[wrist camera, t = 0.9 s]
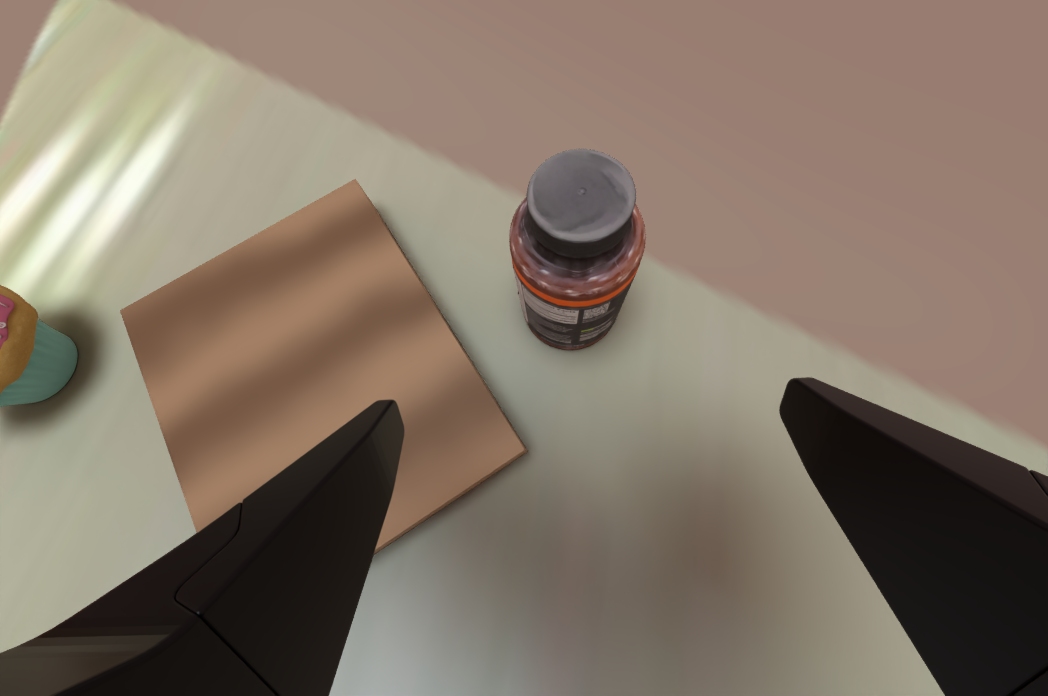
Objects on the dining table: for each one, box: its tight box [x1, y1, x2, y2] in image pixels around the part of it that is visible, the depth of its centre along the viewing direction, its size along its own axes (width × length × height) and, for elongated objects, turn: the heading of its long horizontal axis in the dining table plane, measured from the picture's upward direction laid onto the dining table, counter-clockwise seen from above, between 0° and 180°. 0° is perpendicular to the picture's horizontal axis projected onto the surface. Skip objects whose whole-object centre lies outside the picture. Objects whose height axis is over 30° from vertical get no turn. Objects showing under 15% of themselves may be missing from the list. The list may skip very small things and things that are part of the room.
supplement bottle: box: [509, 149, 646, 350], centre depth 20 cm, size 6×6×11 cm
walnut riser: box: [120, 179, 528, 554], centre depth 23 cm, size 20×16×3 cm
